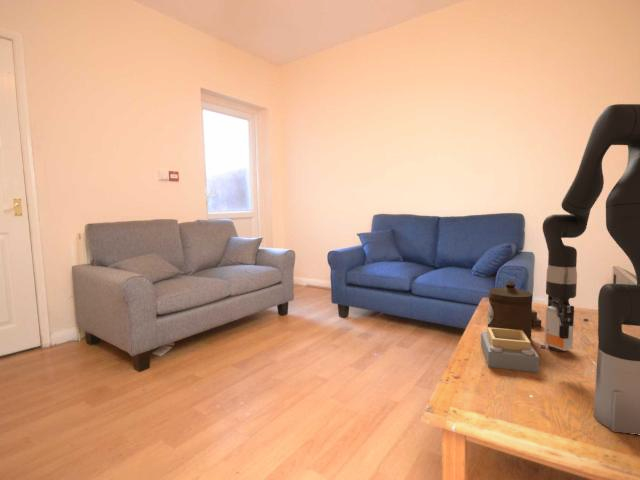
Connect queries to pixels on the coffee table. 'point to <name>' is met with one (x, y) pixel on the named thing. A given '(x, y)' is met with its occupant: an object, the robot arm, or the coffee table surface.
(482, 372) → the coffee table surface
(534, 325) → the stack of crates
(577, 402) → the coffee table surface
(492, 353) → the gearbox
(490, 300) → the wooden container
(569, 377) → the coffee table surface
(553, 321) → the skincare box
